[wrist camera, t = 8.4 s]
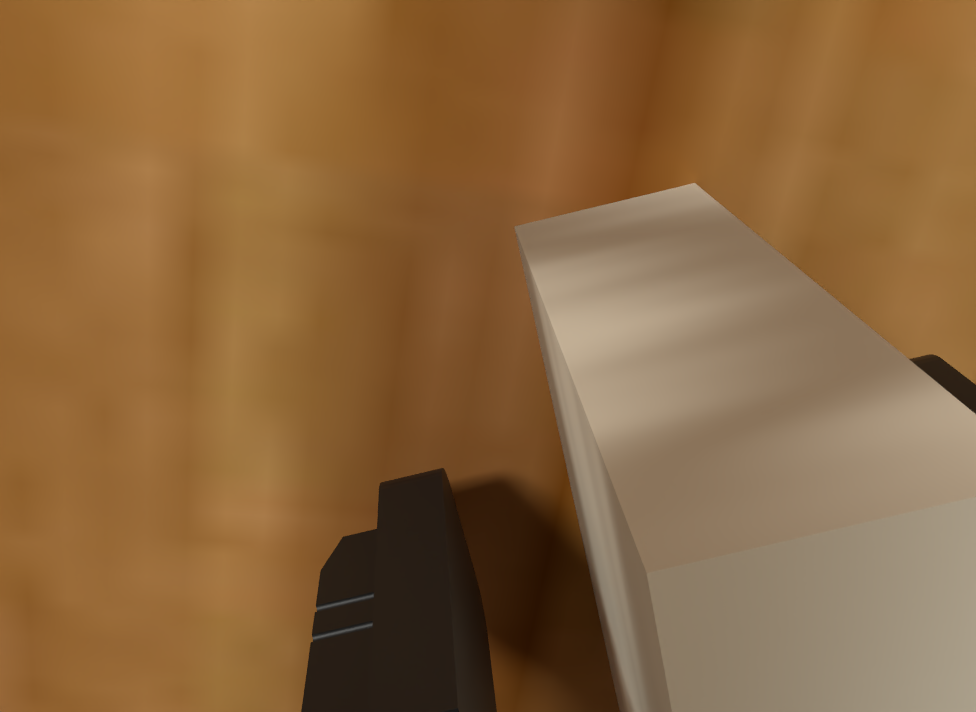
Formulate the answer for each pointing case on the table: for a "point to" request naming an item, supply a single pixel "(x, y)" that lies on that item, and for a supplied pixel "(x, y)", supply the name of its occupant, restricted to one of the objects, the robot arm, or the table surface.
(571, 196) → the table surface
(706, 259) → the pale wooden bar
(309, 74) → the table surface
